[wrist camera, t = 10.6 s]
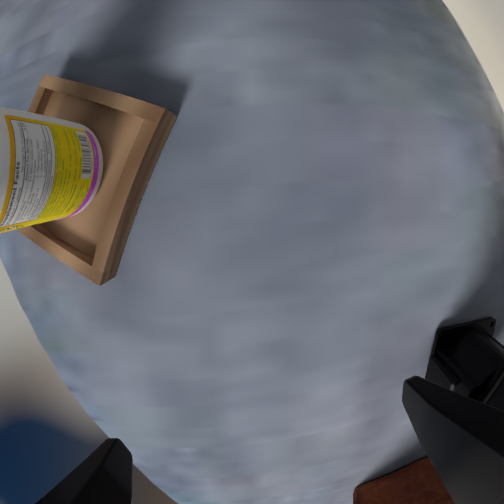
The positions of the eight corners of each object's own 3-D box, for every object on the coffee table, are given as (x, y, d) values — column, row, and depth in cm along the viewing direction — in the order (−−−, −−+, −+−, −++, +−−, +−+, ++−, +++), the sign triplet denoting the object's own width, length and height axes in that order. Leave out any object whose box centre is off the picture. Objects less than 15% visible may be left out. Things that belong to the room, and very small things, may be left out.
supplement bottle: (30, 186, 18) (-106, 204, 5) (67, 109, 16) (-77, 79, 4) (80, 235, 18) (-73, 290, 6) (125, 152, 17) (-51, 131, 4)
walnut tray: (177, 116, 17) (165, 108, 15) (115, 276, 20) (99, 285, 18) (60, 80, 17) (44, 74, 15) (16, 213, 20) (-1, 216, 18)
